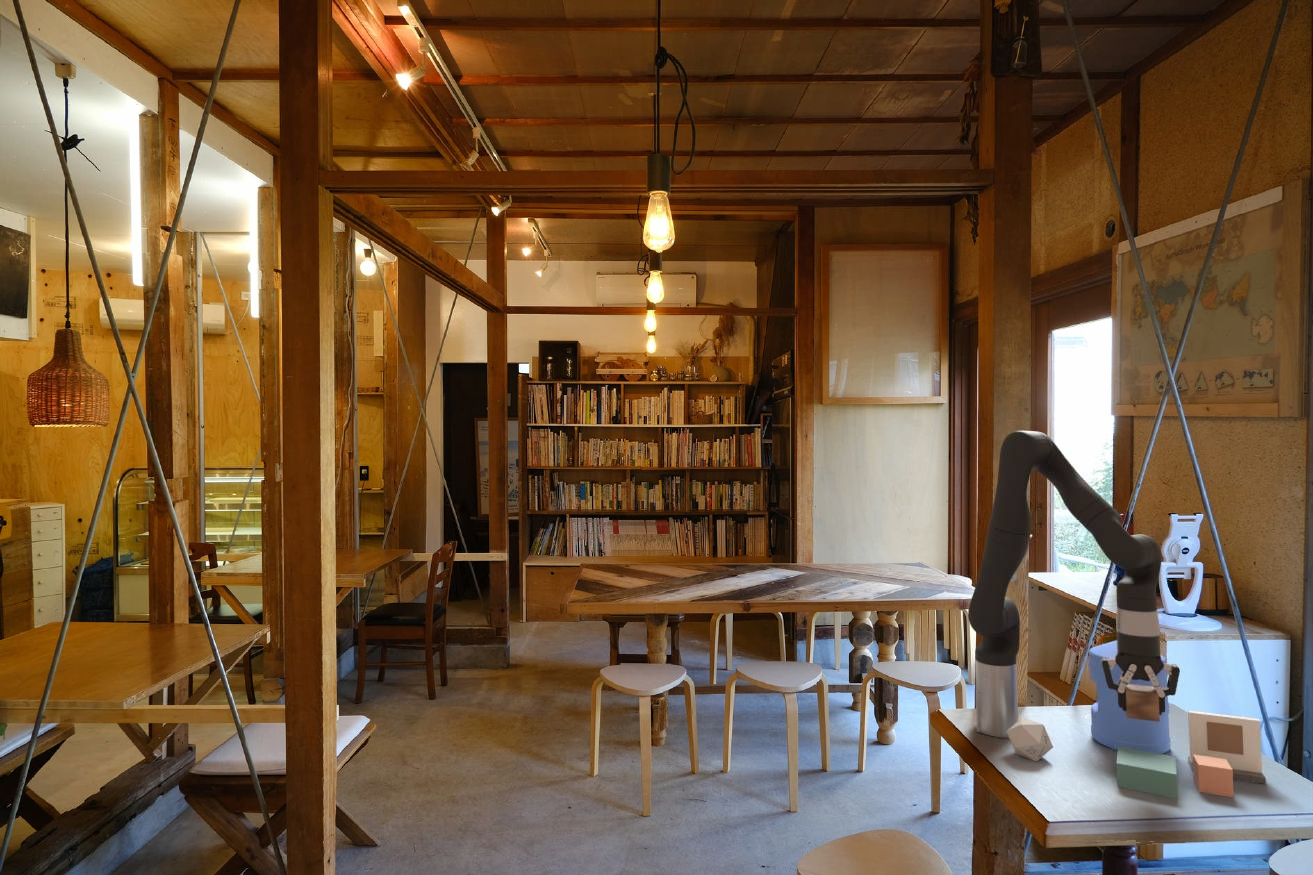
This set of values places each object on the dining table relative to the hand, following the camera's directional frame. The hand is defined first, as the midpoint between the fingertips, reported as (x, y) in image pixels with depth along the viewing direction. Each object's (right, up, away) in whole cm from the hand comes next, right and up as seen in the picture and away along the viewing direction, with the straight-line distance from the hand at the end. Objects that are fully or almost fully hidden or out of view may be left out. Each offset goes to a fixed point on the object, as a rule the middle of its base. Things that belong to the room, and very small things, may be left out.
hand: (1141, 711), depth 149 cm
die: (-17, -15, +13) cm, 26 cm away
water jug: (+10, -15, +19) cm, 26 cm away
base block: (0, -15, -1) cm, 15 cm away
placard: (+20, -14, +3) cm, 25 cm away
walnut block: (0, -1, 0) cm, 1 cm away
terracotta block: (+12, -14, -4) cm, 19 cm away
